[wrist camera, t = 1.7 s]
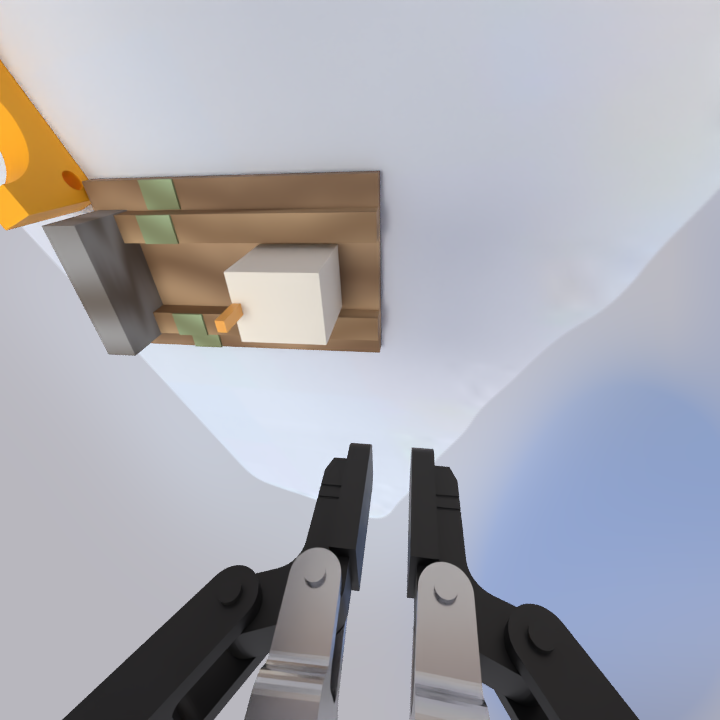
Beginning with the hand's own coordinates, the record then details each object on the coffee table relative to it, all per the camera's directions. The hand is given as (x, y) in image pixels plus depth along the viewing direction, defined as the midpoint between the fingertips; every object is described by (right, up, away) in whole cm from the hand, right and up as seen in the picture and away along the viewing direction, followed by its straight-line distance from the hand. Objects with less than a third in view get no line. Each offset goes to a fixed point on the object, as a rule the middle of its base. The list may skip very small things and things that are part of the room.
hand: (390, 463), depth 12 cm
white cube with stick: (-6, +10, +15) cm, 19 cm away
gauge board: (-10, +11, +17) cm, 23 cm away
